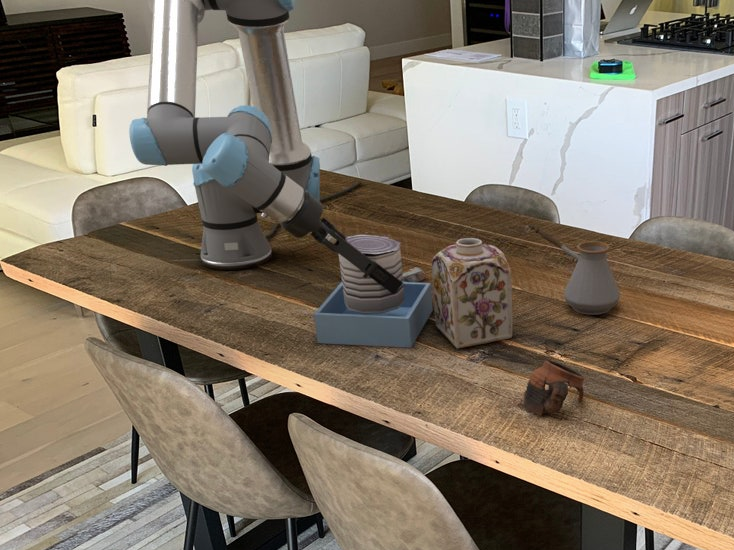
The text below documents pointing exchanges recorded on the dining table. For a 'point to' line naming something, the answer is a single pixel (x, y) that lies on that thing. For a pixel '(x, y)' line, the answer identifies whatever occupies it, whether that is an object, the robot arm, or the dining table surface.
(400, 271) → the can
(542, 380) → the pottery mug
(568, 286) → the coffee pot
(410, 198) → the dining table surface
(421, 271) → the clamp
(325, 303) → the tote
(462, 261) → the decorative jar
